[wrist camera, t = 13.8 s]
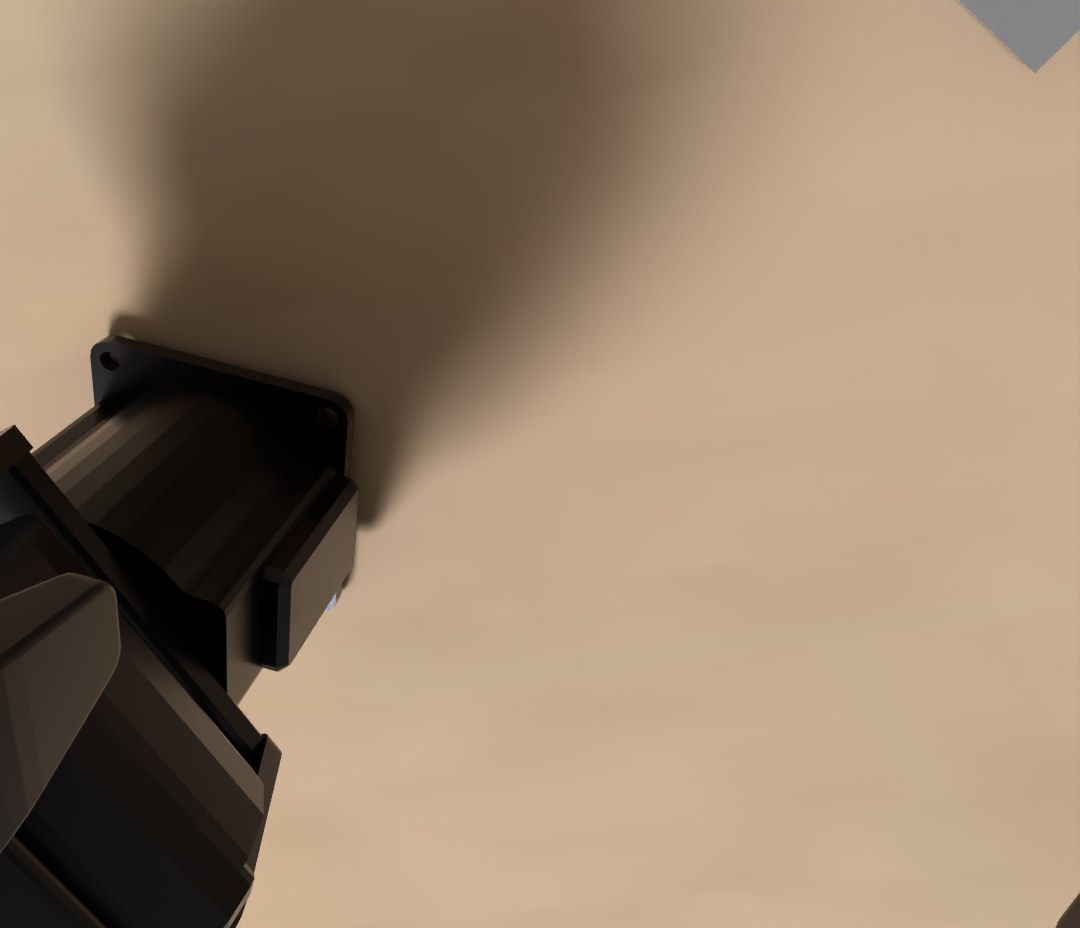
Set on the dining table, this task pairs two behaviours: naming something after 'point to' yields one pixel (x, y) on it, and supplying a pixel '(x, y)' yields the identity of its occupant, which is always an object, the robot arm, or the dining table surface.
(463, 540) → the dining table surface
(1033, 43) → the carrier plate
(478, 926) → the dining table surface
